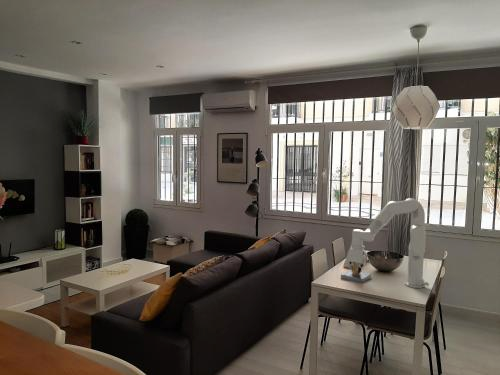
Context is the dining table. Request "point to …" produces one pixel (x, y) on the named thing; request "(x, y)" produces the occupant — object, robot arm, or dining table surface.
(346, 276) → the rosette plate
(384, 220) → the robot arm
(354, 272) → the locking peg
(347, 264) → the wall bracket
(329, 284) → the dining table surface
